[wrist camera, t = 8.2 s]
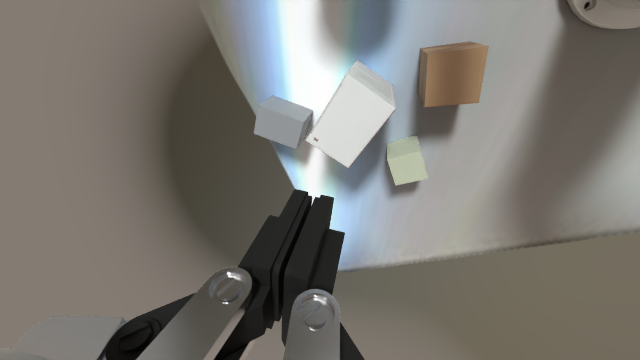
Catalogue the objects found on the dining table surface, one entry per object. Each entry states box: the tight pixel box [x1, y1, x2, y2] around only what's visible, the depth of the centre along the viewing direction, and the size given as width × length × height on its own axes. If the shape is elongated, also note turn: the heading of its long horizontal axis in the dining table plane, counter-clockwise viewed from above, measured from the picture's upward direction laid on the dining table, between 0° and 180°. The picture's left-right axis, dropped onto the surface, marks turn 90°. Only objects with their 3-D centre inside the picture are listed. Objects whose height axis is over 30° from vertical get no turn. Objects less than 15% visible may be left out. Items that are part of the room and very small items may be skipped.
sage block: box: [387, 135, 428, 186], centre depth 33 cm, size 4×4×5 cm
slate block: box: [254, 95, 313, 149], centre depth 34 cm, size 6×4×5 cm, turn 73°
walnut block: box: [418, 42, 488, 107], centre depth 27 cm, size 5×5×6 cm
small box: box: [306, 60, 396, 168], centre depth 29 cm, size 8×6×10 cm
